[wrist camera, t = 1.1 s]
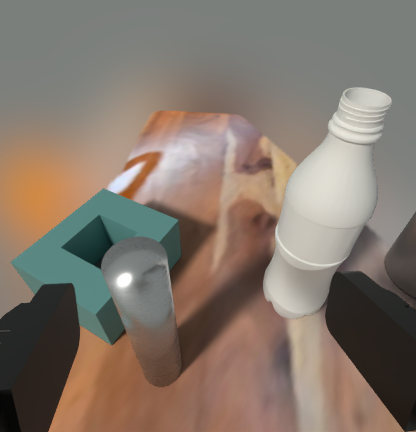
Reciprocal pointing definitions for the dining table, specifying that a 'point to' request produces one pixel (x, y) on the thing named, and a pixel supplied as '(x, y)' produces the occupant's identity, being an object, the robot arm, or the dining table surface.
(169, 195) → the dining table surface
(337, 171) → the water bottle
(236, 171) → the dining table surface
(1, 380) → the robot arm
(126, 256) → the steel post
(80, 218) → the well block
